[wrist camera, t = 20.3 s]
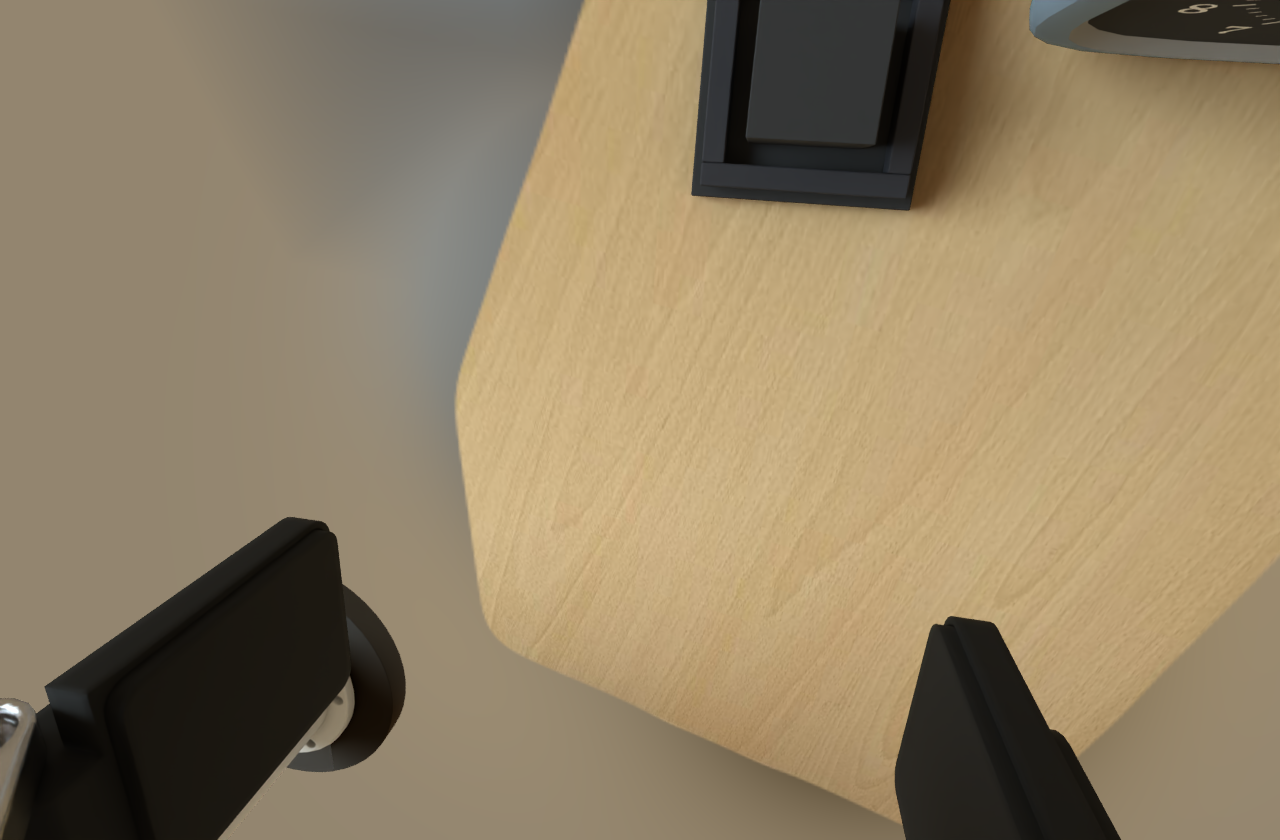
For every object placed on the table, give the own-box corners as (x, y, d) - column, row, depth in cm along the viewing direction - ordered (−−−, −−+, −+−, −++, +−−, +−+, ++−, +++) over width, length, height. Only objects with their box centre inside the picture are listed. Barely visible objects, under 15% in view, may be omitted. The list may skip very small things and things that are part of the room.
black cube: (748, 143, 30) (745, 137, 26) (762, 18, 29) (761, -9, 25) (860, 149, 30) (876, 145, 26) (882, 21, 28) (901, -6, 24)
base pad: (693, 194, 33) (687, 196, 30) (713, -47, 29) (708, -66, 27) (905, 209, 31) (916, 212, 29) (953, -42, 28) (970, -63, 25)
